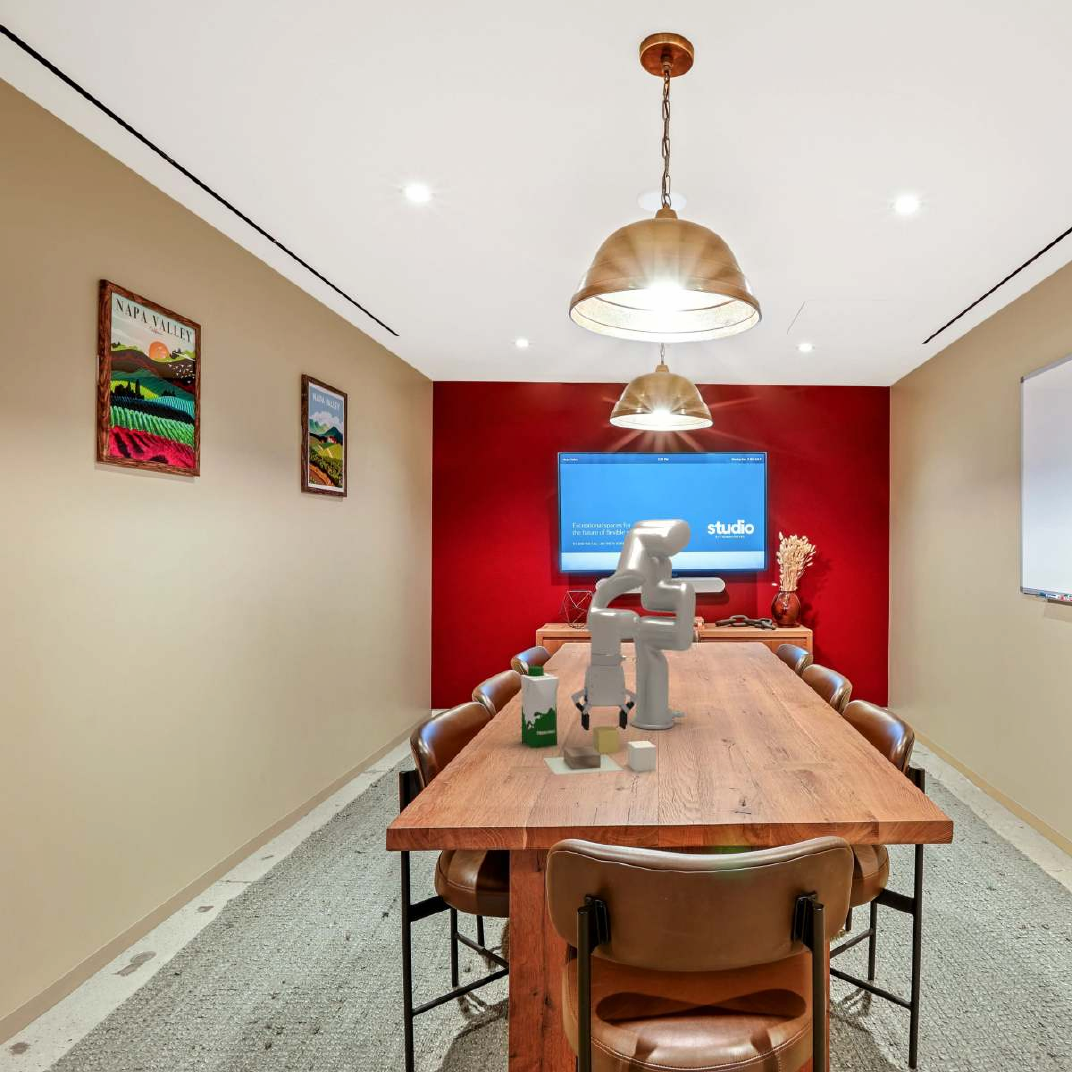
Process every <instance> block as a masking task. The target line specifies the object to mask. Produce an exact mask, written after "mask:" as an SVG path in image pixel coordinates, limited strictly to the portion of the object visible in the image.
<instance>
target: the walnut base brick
mask: <svg viewBox="0 0 1072 1072" xmlns="http://www.w3.org/2000/svg"><path fill="white" fill-rule="evenodd" d="M601 755H602V754H599V753H598V752H597V751H596V750H595V749H594V748H593V746H592V745H591V746H587V745H586V746H573V747H563V757H564V761H565V762H566V764H567V765H568V766H569V767H570V768H571V770H574V769H589V768H601Z"/></svg>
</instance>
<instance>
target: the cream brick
mask: <svg viewBox="0 0 1072 1072" xmlns="http://www.w3.org/2000/svg"><path fill="white" fill-rule="evenodd" d="M656 748H657V747H656V745H654V744H653V743H651V741H648V740H637V741H628V742H627V765H628V767H630V768H631V769H632V770H633V771H634V772H647V771H648V772H649V771H656V770H657V766H656V765H657V764H656V763H657V762H656V761H657V760H656V759H657V757H656V756H657V749H656Z"/></svg>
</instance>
